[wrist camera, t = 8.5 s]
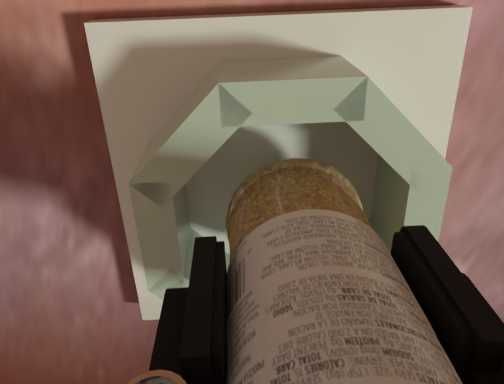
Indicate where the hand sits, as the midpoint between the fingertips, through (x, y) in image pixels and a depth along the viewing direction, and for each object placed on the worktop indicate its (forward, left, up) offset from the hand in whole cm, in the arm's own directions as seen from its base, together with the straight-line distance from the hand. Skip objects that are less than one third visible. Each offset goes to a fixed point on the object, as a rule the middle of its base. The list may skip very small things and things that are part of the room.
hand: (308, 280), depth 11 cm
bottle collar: (0, 0, -6) cm, 6 cm away
